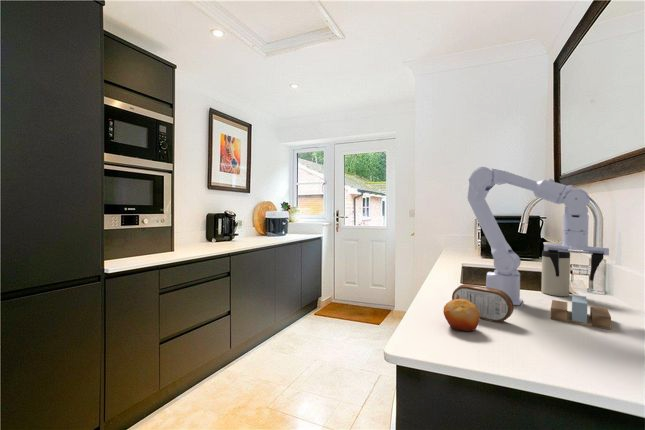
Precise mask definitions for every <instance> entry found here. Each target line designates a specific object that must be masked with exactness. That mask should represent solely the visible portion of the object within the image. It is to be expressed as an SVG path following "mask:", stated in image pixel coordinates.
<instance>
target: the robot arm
mask: <svg viewBox="0 0 645 430" xmlns="http://www.w3.org/2000/svg"><path fill="white" fill-rule="evenodd" d="M505 184H508V185H510V186H515V187H518V188H521V189H525V190H529V191H532V192H533V194H534V196H535V197H536V198H538V199H541V200H544V201H548V202H551V203H553V204H557V205H561V204H563V205H564V214H563V216H562V217H563V218H562V243H563V245H555V244H543V250H544V251H548V254H549V256H550V258H551V260H552V263H553V265H554V268H555V272H556V276H557V277H559V252H570V254H572V253H573V254H585V255H586V254H587V255H591V256H590V257H591V258H590V261H591V262H590V274H589V281H594V279H595V275H596V272H597V269H598V267H599V265H600V264H601V262H602V261H603V259H604V258H605V257H604V256H607V257H609V255H610V248H609V247H600V246H590V245H589V219H590V217H589V214H588V213H589V208H588V205H589V204H590V200H591V198H590V195H589V194H588V192H586V191H585V190H583V189H580V188H573V187H574V185H572V184H569V185H566V184H562V183H559V182H555V179H553V178H549V179H544V178H543V179H541V180H539V181H536V180H534V179H530V178H527V177H523V176H522V175H519V174H515V173H512V172H509V171H506V170H501V169H497V168H491V169H490V168H488V167H486V166H479V167H477V168H475V169H474V170H473V172H472V173H471V174H470V176H469V178H468V190H467V191H468V192H467V201H468V203H469V205H470V207H471V210H472V212H473V214H474V215H475V217H476V220H477V222H478V224H479V226H480V228H481V229H482V232H483V234H484V236H485V238H486V240H487V242H488V244H489V246H490V249H491V250H490V251H491V256H492V258H493V266H494V270H493V271H487V272H486V279H485V287H488V288H494V289H499V290H501V291H503V292H505V293H506V294H507V295H508V296H509V297H510V298H511V300H512V302H513V305H515V306H521V303H522V301H523V298H521V297H520V295H521V294H520V293H521V292H520V291H521V273H520V272H519V271H518V268H520V266H521V258H520V256H519V255H518V254H517V253H516V252H514V251H513V249H512V247H511V246H510V244H509V243H508V241H507V240H506V238H505V236H504V234H503V232H502V230H501V229H500V226H499V224H498V222H497V219H496V218H495V216H494V214H493V212H492V210H491V208H490V206H489V205H488V202H487V200H486V198H487V196H488V194H489V191H490V190H492V188H494V186H495V185H498V186H500V185H505ZM567 249H568V250H567Z"/></svg>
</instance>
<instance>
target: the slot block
mask: <svg viewBox="0 0 645 430" xmlns="http://www.w3.org/2000/svg"><path fill="white" fill-rule="evenodd" d="M550 320H554V321H560V322H565V323H571V324H577V325H583V326H587V327H588V326H589V327H593V328H594V327H595V328H601V329H606V330H612V317H611V313H610V311H609V309H608V307H604V306H597V305H590V306H589V313H587V323H583V322H577V321H572V310H568V301H562V300H555V299H552V300H551V306H550Z"/></svg>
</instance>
